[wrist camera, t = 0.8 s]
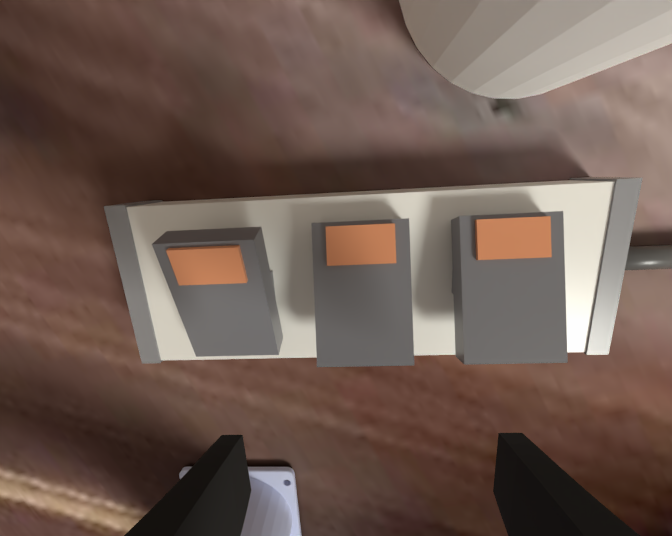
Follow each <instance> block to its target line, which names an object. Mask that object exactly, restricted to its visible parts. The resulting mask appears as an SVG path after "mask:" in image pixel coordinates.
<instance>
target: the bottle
mask: <svg viewBox="0 0 672 536" xmlns="http://www.w3.org/2000/svg"><path fill="white" fill-rule="evenodd" d="M399 3H400V7H401V10H402V14H403V17H404V21H405V24H406V27H407V29H408V31H409V33H410V35H411V37H412V39H413V41H414V43H415V45H416V47H417V49H418V50H419V51H420V53H421V54H422V55H423V56H424V58H425V59H426V60H427V62H428V63H429V64H430V65H431V67H432V68H433V69H435V70H436V71H437V72H438V73H439V74H441V75H442V76H443V77H444V78H445V79H447V80H448V81H449V82H450V83H452V84H454V85H456V86H458V87H460V88H462V89H464V90H466V91H468V92H470V93H474V94H478V95H482V96H486V97H490V98H506V99H518V98H523V97H529V96H534V95H539V94H543V93H545V92H548V91H550V90H553V89H556V88H558V87H561V86H563V85H566V84H568V83H571V82H574V81H576V80H579V79H581V78H584V77H586V76H589V75H592V74H594V73H597V72H599V71H602V70H605V69H607V68H610V67H612V66H615V65H617V64H620V63H623V62H625V61H628V60H630V59H633V58H635V57H638V56H641V55H643V54H646V53H648V52H651V51H653V50H656V49H659V48H661V47H664V46H666V45H669V44H671V43H672V0H399Z"/></svg>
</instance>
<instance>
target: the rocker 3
mask: <svg viewBox="0 0 672 536" xmlns="http://www.w3.org/2000/svg"><path fill="white" fill-rule="evenodd" d="M451 233H452V263H453V293H454V323H455V353H456V357H457V358H458V359H459V360H460V361H461V362H462V363H463V364H516V363H568V362H567V326H566V290H565V255H564V219H563V211H553V212H532V213H511V214H490V215H469V216H458V217H456V218H454V219H452V220H451Z"/></svg>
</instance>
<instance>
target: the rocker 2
mask: <svg viewBox="0 0 672 536" xmlns="http://www.w3.org/2000/svg"><path fill="white" fill-rule="evenodd" d="M311 227H312V252H313V277H314V302H315V327H316V352H317V367H348V366H404V365H414V342H413V314H412V286H411V257H410V229H409V218H405V219H384V220H363V221H341V222H320V223H311Z"/></svg>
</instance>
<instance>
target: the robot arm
mask: <svg viewBox="0 0 672 536" xmlns="http://www.w3.org/2000/svg"><path fill="white" fill-rule="evenodd" d="M179 477H180V480H179V481H178V482H177V483H176V484H175V486H174V487H173V488H172V489H171V490H170V491H169V492H168V493H167V494H166V495H165V496H164V497H163V498H162V499H161V500H160V501H159V502H158V503H157V504H156V505H155V506H154V507H153V508H152V509H151V510H150V511H149V512H148V513H147V514H146V515H145V516H144V517H143V518H142V519H141V520H140V521H139V522H138V523H137V524H136V525H135V526H134V527H133V528H132V529H131V530H130V531H129V532H128V533H127V534H126V535H124V536H302V535H301V526H300V517H299V508H298V499H297V491H296V482H295V473H294V470H293V469H292V468H290V467H248V466H247V460H246V454H245V448H244V442H243V436H242V435H222V436H221V437H220V438H219V439H218V440H217V441H216V442H215V443H214V444H213V445H212V446H211V447H210V448H209V449H208V450H207V451H206V452H205V454H204V455H203V456H202V457H201V458H200V459H199V460H198V461H197V462H196V463H195V464H194V465H193V466H192V467H184V468H182V470H181V472H180V473H179ZM287 480H289V481H287ZM493 492H494V495H495V498H496V501H497V504H498V507H499V510H500V513H501V516H502V519H503V522H504V524H505V527H506V530H507V533H508V536H640V535H639V534H637V533H636V532H635V531H634V530H632V529H631V528H630V527H629V526H627V525H626V524H625V523H624V522H623V521H621V520H620V519H619V518H618V517H617V516H615V515H614V514H613V513H612V512H611V511H609V510H608V509H607V508H606V507H605V506H604V505H602V504H601V503H600V502H599V501H598V500H597V499H595V498H594V497H593V496H592V495H591V494H590V493H588V492H587V491H586V490H585V489H584V488H583V487H582V486H580V485H579V484H578V483H577V482H576V481H575V480H574V479H572V478H571V477H570V476H569V475H568V474H567V473H566V472H565V471H564V470H562V469H561V468H560V467H559V466H558V465H557V464H556V463H555V462H554V461H552V460H551V459H550V458H549V457H548V456H547V455H546V454H545V453H544V452H543V451H541V450H540V449H539V448H538V447H537V446H536V445H535V444H534V443H533V442H531V441H530V440H529V439H528V438H527V437H526V436H525V435H524V434H522V433H499V436H498V446H497V457H496V468H495V479H494V490H493Z"/></svg>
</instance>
